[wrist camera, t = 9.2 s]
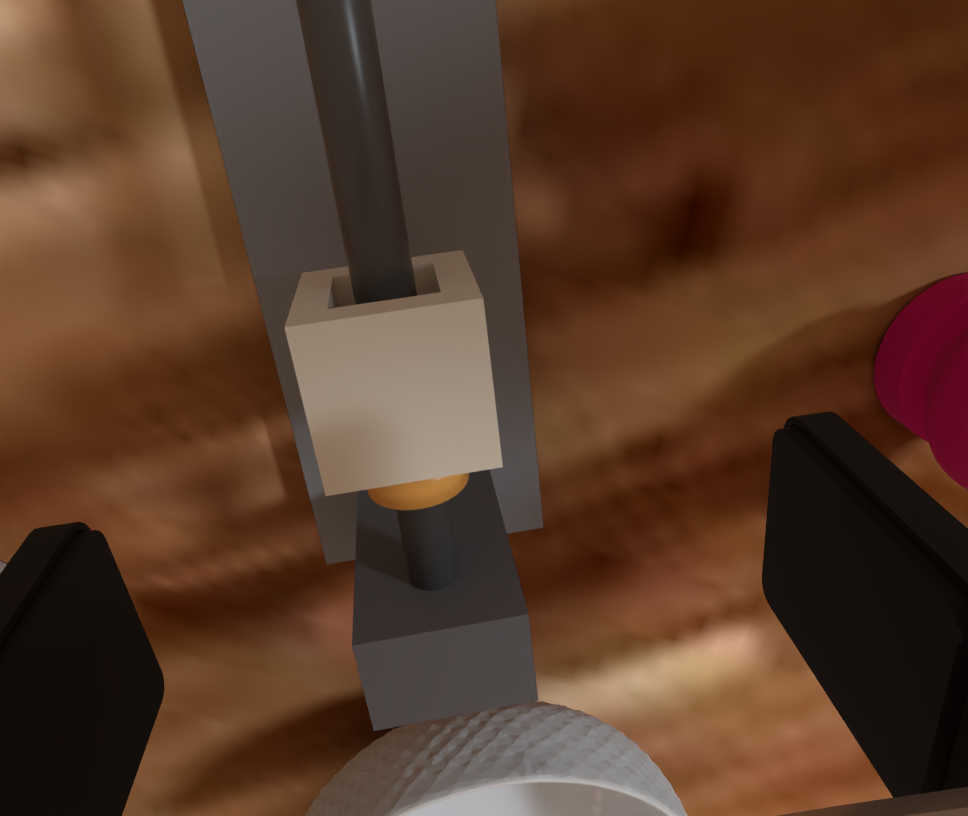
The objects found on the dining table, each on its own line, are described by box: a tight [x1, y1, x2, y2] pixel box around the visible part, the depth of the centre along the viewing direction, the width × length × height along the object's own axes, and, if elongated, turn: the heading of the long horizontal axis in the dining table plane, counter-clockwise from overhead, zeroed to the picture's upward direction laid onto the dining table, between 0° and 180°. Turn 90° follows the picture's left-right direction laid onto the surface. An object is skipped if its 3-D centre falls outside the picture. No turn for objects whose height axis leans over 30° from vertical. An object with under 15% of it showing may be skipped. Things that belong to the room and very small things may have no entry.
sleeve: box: [284, 250, 503, 496], centre depth 18 cm, size 4×4×4 cm
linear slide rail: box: [182, 0, 544, 731], centre depth 18 cm, size 8×28×9 cm, turn 6°
